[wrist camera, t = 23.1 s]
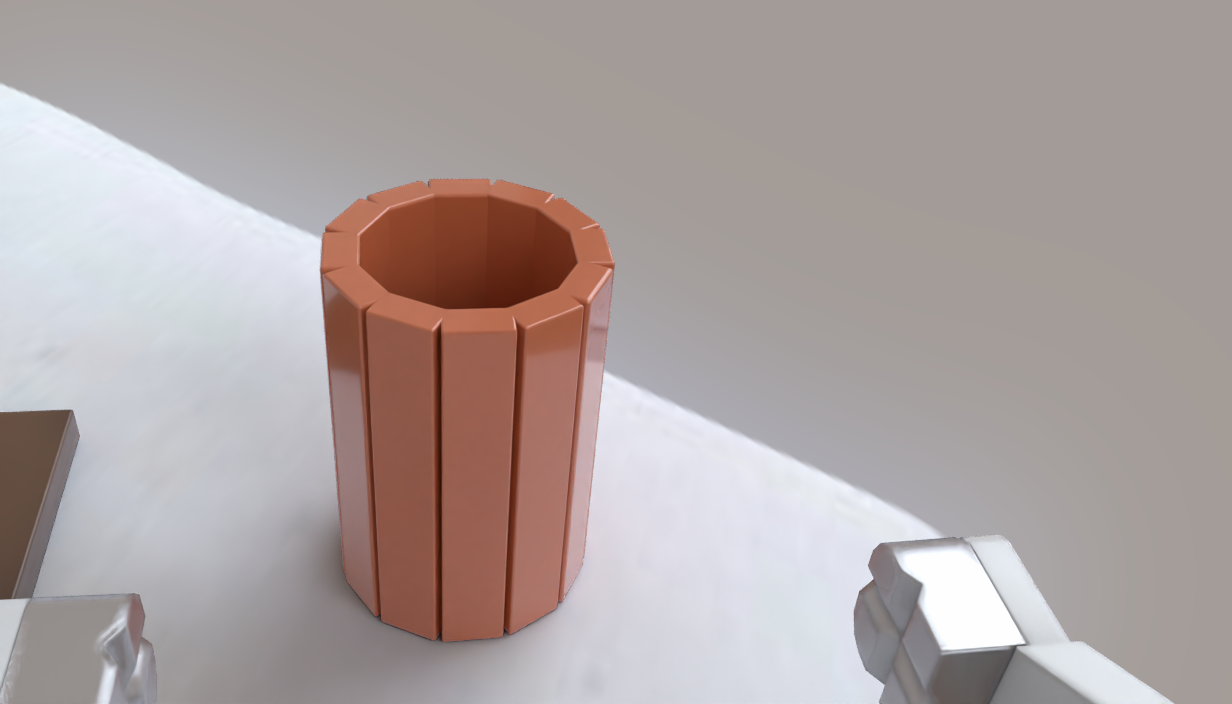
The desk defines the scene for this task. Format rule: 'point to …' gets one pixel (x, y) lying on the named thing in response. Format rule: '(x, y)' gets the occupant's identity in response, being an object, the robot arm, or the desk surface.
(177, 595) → the desk surface
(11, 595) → the holder
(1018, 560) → the robot arm
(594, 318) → the orange slatted tube
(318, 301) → the desk surface
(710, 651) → the desk surface
